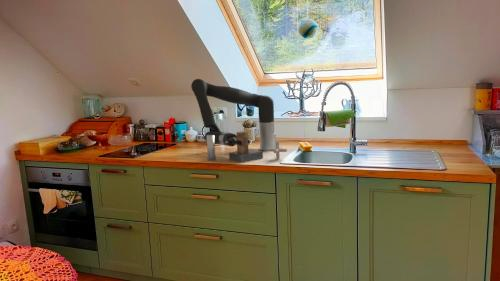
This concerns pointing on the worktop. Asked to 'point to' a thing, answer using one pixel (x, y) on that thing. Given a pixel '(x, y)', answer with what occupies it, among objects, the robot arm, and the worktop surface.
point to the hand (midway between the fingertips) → (245, 142)
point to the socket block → (246, 155)
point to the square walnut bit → (244, 138)
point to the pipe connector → (277, 150)
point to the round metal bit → (211, 147)
